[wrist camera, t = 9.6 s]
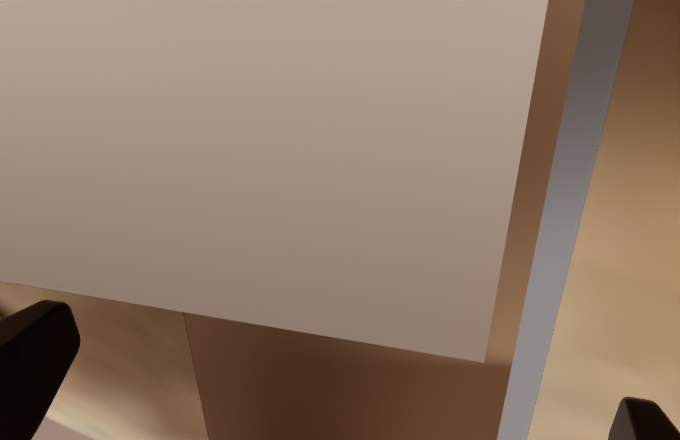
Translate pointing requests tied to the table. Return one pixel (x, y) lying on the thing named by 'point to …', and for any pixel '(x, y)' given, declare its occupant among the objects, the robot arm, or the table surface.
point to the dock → (564, 202)
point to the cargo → (269, 159)
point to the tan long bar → (381, 361)
